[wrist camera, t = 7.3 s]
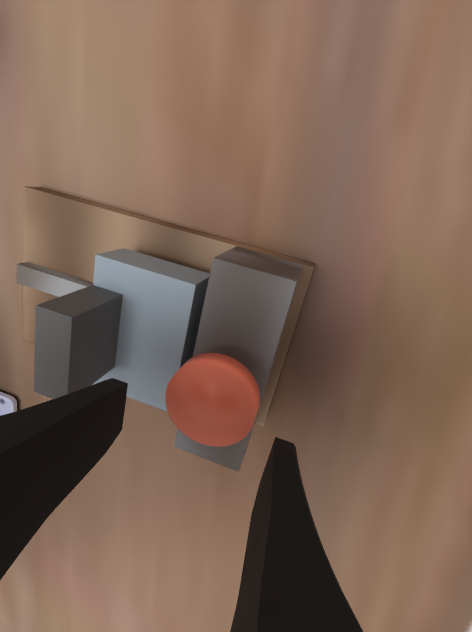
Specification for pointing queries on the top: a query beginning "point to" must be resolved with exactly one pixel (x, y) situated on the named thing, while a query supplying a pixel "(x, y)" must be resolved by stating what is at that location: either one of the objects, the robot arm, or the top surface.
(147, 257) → the carriage
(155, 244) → the rail bed
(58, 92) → the top surface
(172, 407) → the button
